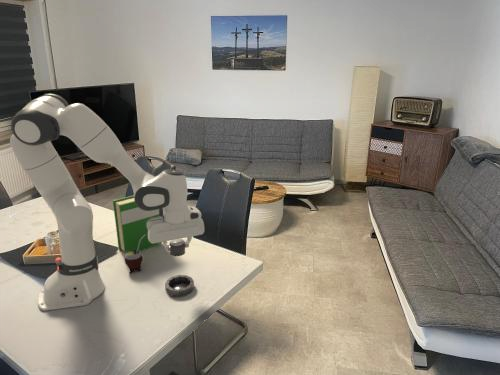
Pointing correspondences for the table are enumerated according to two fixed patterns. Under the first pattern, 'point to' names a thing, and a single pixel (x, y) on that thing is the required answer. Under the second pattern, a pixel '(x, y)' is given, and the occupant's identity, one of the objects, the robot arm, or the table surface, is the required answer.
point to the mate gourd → (134, 259)
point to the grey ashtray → (179, 286)
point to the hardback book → (132, 224)
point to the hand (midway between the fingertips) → (177, 248)
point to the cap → (177, 247)
